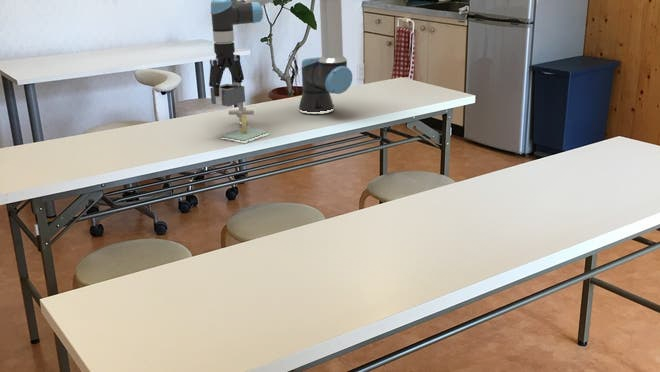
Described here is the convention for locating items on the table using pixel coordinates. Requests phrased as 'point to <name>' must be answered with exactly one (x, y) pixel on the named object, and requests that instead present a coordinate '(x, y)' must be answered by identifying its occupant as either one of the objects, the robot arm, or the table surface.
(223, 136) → the keeper board
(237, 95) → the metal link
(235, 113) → the pipe connector
